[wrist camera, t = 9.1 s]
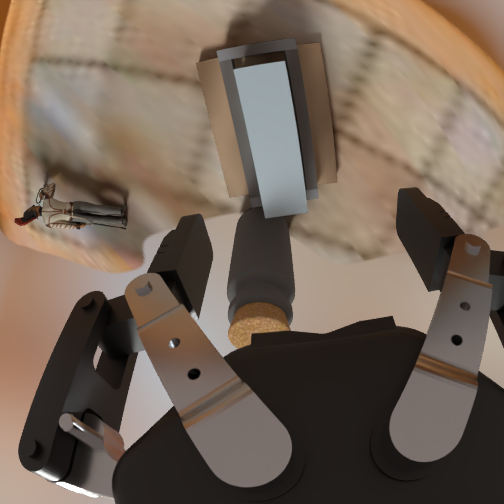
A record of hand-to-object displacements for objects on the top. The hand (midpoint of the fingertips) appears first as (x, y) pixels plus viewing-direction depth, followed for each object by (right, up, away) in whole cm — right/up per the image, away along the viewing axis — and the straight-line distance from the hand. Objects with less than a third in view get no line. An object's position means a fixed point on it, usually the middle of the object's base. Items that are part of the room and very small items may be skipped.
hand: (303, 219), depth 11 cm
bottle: (-1, +1, +22) cm, 22 cm away
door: (0, +11, +13) cm, 17 cm away
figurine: (-23, +5, +21) cm, 31 cm away
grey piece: (0, +11, +14) cm, 18 cm away
